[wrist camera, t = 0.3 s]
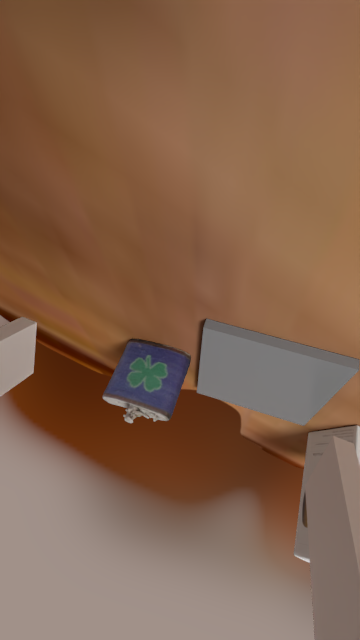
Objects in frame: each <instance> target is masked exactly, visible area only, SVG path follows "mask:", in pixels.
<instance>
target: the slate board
mask: <svg viewBox="0 0 360 640" xmlns="http://www.w3.org/2000/svg"><path fill="white" fill-rule="evenodd" d="M358 370H359V360H358V359H355V358H351V357H347V356H343V355H340V354H336V353H332V352H329V351H325V350H321V349H317V348H314V347H310V346H306V345H302V344H299V343H295V342H291V341H287V340H284V339H280V338H276V337H273V336H269V335H265V334H261V333H258V332H254V331H250V330H246V329H243V328H239V327H235V326H231V325H228V324H224V323H220V322H217V321H213V320H209V319H206V322H205V324H204V327H203V336H202V346H201V356H200V366H199V376H198V386H197V393H200V394H203V395H206V396H209V397H213V398H216V399H219V400H222V401H226V402H229V403H232V404H235V405H238V406H242V407H245V408H248V409H251V410H254V411H258V412H261V413H264V414H267V415H271V416H274V417H277V418H280V419H283V420H287V421H290V422H293V423H296V424H299V425H303V426H304V425H305V424H306V423H307V422H308V421H309V420H310V419H311V418H312V417H313V416H314V415H315V414H316V413H317V412H318V411H319V410H320V409H321V408H322V407H323V406H324V405H325V404H326V403H327V402H328V401H329V400H330V399H331V398H332V397H333V396H334V395H335V394H336V393H337V392H338V391H339V390H340V389H341V388H342V387H343V386H344V385H345V384H346V383H347V382H348V381H349V380H350V379H351V378H352V377H353V376H354V375H355V374H356V373H357V372H358Z"/></svg>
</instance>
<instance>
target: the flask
mask: <svg viewBox="0 0 360 640" xmlns="http://www.w3.org/2000/svg"><path fill="white" fill-rule="evenodd" d="M190 360H191V356H190V354H188V353H186V352H184V351H182V350H179V349H176V348H173V347H169V346H167V345H162V344H156V343H154V342H149V341H143V340H140V339H131V340H130V341H129V342H128V343H127V346H126V348H125V350H124V353H123V355H122V357H121V359H120V361H119V363H118V365H117V367H116V369H115V371H114V373H113V375H112V378H111V380H110V382H109V384H108V386H107V389H106V390H105V392H104V394H103V399H105V401H107V402H108V403H111V404H114V405H118V406H122V407H125V408H128V409H127V410H126V411H127V414H126V415H123V416H124V417H125V421H127V422H129V423H133V419H135V418H136V417H140V416H142V415H143V416H144V417H146V418H149V417H148V416H146V415H149V416H150V418H153V421H157V419H158V420H163V421H167V420H170V418H171V416H172V413H173V410H174V407H175V405H176V401H177V398H178V396H179V393H180V390H181V387H182V384H183V382H184V378H185V376H186V374H187V371H188V367H189V365H190Z"/></svg>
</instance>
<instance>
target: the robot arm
mask: <svg viewBox="0 0 360 640" xmlns="http://www.w3.org/2000/svg"><path fill="white" fill-rule="evenodd" d="M36 326H37V322H34V321H32V320H29V319H27V318H24V317H21V318H19V319H17V320H14V321H12V322H10V323H8V324H6V325H4V326H2V327H0V396H2V395H3V394H4V393H6V392H7V391H9V390H10V389H11V388H13V387H14V386H16V385H17V384H18V383H20V382H21V381H23V380H24V379H25V378H27V377H28V376H30V375H31V374H32V373H33V372H34V355H35V341H36ZM305 493H306V509H307V524H308V540H309V556H310V572H311V588H312V604H313V620H314V635H315V640H360V465H359V461H358V458H357V454H356V450H355V446H354V444H353V443H351V442H348V441H346V440H343V439H340V438H338V437H335V436H333V437H332V439H331V440H330V442H329V444H328V446H327V447H326V449H325V451H324V453H323V455H322V456H321V458H320V460H319V462H318V463H317V465H316V467H315V469H314V470H313V472H312V474H311V476H310V477H309V479H308V481H307V483H306V484H305Z"/></svg>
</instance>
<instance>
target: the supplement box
mask: <svg viewBox="0 0 360 640" xmlns="http://www.w3.org/2000/svg"><path fill="white" fill-rule="evenodd" d="M333 436H335V437H338V438H340V439H343V440H346V441H348V442H351V443H353V444H354V446H355V450H356V454H357V458H358V461H359V465H360V426H358V425H356V426H350V427H342V428H336V429H329V430H322V431H315V432H309V433H308V440H307V449H306V457H305V465H304V474H303V483H302V490H301V499H300V508H299V516H298V524H297V532H296V540H295V548H294V555H295V556H296V557H298V558H300V559H302V560H304V561H307V562H309V563H310V556H309V540H308V524H307V509H306V493H305V484H306V483H307V481H308V479H309V477H310V476H311V474H312V472H313V470H314V469H315V467H316V465H317V463H318V462H319V460H320V458H321V456H322V455H323V453H324V451H325V449H326V447H327V446H328V444H329V442H330V440H331V439H332V437H333Z"/></svg>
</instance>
